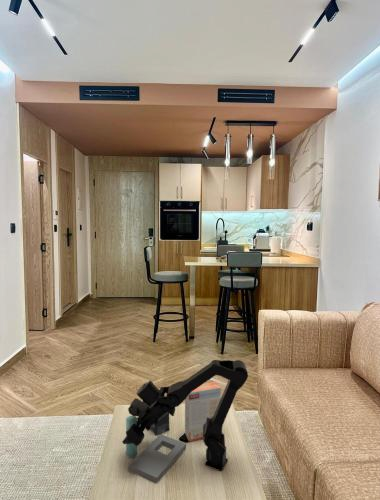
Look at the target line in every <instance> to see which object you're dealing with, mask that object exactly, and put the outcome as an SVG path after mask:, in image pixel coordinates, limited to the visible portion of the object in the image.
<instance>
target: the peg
mask: <svg viewBox="0 0 380 500" xmlns="http://www.w3.org/2000/svg"><path fill="white" fill-rule="evenodd" d="M137 418H138V416H132V415H129V416H126V418H125V432H126V431H127V430H128V428H129V427H130V426H131V425H132V424H137ZM125 435H126V434H125ZM126 436H127V435H126ZM126 436H125V437H126ZM125 445H126V446H125V449H126V451H125V454H126V457H127V458H129V459H130V458H131V459H132V458H134V457H135V458H136V457H137V456H138V455H137V454H138V446H135V444H125Z"/></svg>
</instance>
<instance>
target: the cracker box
mask: <svg viewBox="0 0 380 500" xmlns="http://www.w3.org/2000/svg"><path fill="white" fill-rule="evenodd" d="M221 391H222V388H221V386H220V384H219V383H217V381H212V382H205V383H204V384H202V385H201V386H199V387H198V388H196V389H195V390H193V391H192V392H191V393H190V394H189V395H188V396H187V398H186V399H185V400H184V435H185V436H186V438H187V440H188V442H195V441H198V440H202V439H203V440H204V437H203V425H204V424H205V423H206V419H207V417H208V418H210V419H211V418H212V417H213V416H214V413H215V411H216V409H217V406H218V404H219V402H220V399H221V397H222V392H221Z"/></svg>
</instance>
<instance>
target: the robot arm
mask: <svg viewBox="0 0 380 500" xmlns="http://www.w3.org/2000/svg"><path fill="white" fill-rule="evenodd" d="M215 376H217V377H221V378H224V379H225V380H226V379H227V383H226V385H225V388H224V390H223V393H222V394H221V399H220V402H219V404H218V406H217V409H216V411H215V413H214V416H213V417H212V418H211V419H210V418H208V417H207V419H206V423H205V424H204V425H203V437H204V438H203V443H204V445H205V447H207V448H206V449H205V452H206V453H205V460H206V461H205V463H204V464H205V466H207V467H209V468H213V469H215V470H216V471H219V472H222V470H223V469H224V468H225V466H226V464H227V462H228V458H227V446H226V440H225V438H226V437H225V434H224V433H223V426H224V423H225V420H226V418H227V416H228V414H229V411H230V409H231V407H232V405H233V402H234V400H235V397H236V395H237V393H238V391H239V390H240V389H241V388H242V387H243V386H244V384H245V383H246V382H247V380H248V379H249V374H248V369H247V366H246V363H245V362H244V361H243V360H240V359H239V360H230V359H225V360H219V359H213V360H211V361H210V362H209V364H207V365H205V366H204V367H203V368H201V369H200V370H198V371H196V372H195V373H194V374H192V375H191V376H190V377H188V378H186V379H185V380H181V381H177V382H175V383H172V384H170V385H169V386H161V387H160V388H158V387H157V386H156V385H155V384H154V382H153V381H152V380H149V381H147V382H145V383H143V385H141V386H140V387H139V389H138V390H137V391H136V395H137V396H138V398H140V399H141V400H140V399H138V398H137V397H136V398H134V399H133V400H132V402H131V403H130V404H129V407H128V408H127V411H128V413H129V415H130V416H136V417H137V424H132V425H131V426H130V427H129V428H128V430H127V431H126V430H125V435H127V436H125V437H124V439H123V440H122V442H121V443H122V444H123V445H126V444H135V446H137V447H138V446H140V445H141V444H142V442H143V440H144V439H145V432H144V431H145V430H146V431H147V432H149V431H151V429H150V428H151V426H152V425H154V424H155V425H156V424H157V423H158V421H159V420H160V419H161V418H162V417H163V416H165V415H166V414H167V413H169V416H172V417H174V415H175V412H176V408H177V407H179V406H181V404H182V403H183V402H185V399H186V398H187V396H188V395H189V394H190V393H191V392H192V391H193V390H195V389H196V388H198V387H199V386H201V385H202V384H204V383H208V381H209V380H211V379H212V378H214V377H215ZM143 401H144V402H145V403H146V404H145V403H144V402H143ZM152 404H153V405H152Z"/></svg>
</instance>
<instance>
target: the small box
mask: <svg viewBox="0 0 380 500" xmlns="http://www.w3.org/2000/svg"><path fill="white" fill-rule="evenodd" d="M142 402H144V401H143V400H142ZM144 403H145V402H144ZM145 404H146V403H145ZM152 405H153V404H152ZM150 431H151V432H152V433H153V434H154V435H155V436H159V435H160V434H163V433H166V432H168V431H170V414H169V413H167V414H166V415H165V416H163V417H162V418H161V419H160V420H159V421H158V423H157V424H156V425H155V424H154V425H152V426H151V428H150Z"/></svg>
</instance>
